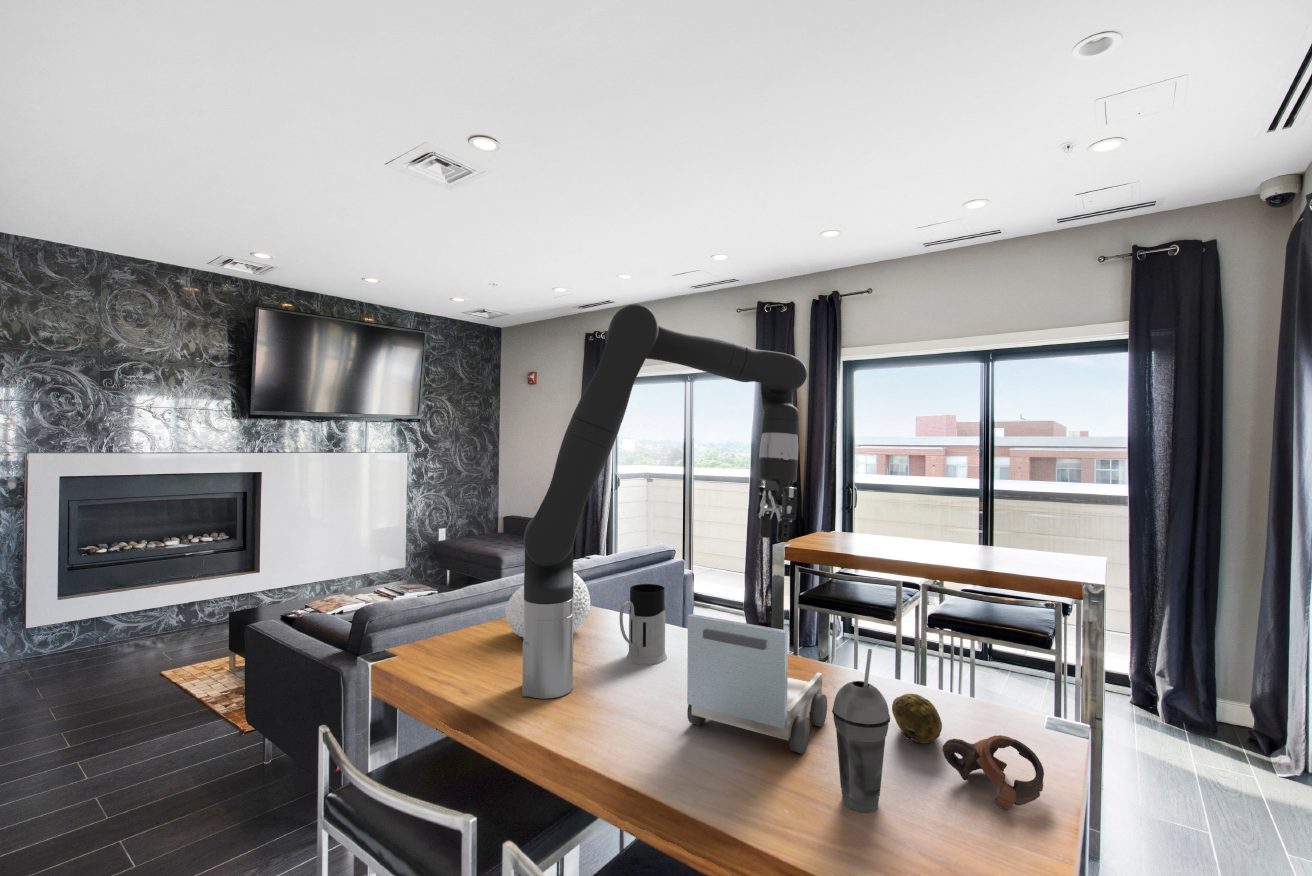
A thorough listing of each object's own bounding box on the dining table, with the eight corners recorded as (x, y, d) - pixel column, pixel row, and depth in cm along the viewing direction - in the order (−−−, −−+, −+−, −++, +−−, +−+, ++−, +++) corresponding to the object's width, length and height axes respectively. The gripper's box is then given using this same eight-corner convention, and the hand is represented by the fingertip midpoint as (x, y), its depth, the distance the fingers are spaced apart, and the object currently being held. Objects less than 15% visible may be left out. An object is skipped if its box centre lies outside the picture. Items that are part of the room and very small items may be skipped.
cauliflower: (576, 584, 161) (563, 543, 151) (610, 630, 149) (598, 589, 139) (507, 626, 154) (488, 586, 143) (537, 678, 142) (518, 638, 131)
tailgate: (690, 700, 98) (691, 613, 98) (787, 725, 90) (787, 630, 90) (685, 705, 97) (686, 616, 97) (783, 730, 88) (783, 633, 88)
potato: (956, 733, 99) (956, 684, 99) (933, 766, 89) (933, 711, 89) (903, 718, 104) (904, 671, 104) (876, 747, 94) (876, 695, 94)
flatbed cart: (729, 691, 115) (729, 654, 115) (830, 715, 105) (830, 675, 105) (683, 730, 99) (684, 687, 99) (796, 763, 90) (797, 715, 90)
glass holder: (674, 655, 134) (675, 586, 134) (638, 676, 122) (638, 601, 122) (641, 647, 138) (641, 581, 138) (603, 667, 126) (603, 594, 126)
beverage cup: (823, 786, 84) (824, 640, 84) (874, 784, 84) (875, 639, 84) (844, 820, 76) (845, 660, 76) (900, 817, 77) (901, 658, 77)
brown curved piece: (1022, 777, 87) (1046, 742, 83) (1030, 842, 80) (1056, 807, 75) (933, 743, 91) (952, 707, 87) (932, 802, 83) (953, 766, 79)
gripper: (747, 456, 127) (742, 535, 126) (775, 454, 114) (769, 542, 112) (781, 459, 129) (776, 537, 128) (812, 457, 115) (807, 544, 114)
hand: (773, 539), depth 120 cm, fingers open, 8 cm apart
